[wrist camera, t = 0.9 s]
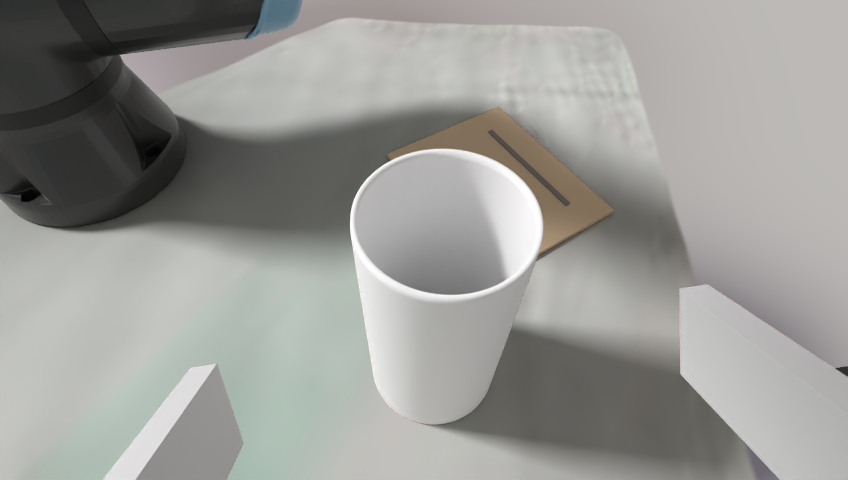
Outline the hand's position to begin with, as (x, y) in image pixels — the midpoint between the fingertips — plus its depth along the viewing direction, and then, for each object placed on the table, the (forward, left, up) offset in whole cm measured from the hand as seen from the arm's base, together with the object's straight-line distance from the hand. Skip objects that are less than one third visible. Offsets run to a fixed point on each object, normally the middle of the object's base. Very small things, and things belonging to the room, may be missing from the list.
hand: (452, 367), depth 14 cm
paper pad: (-17, +18, -19) cm, 31 cm away
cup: (-6, +4, -19) cm, 20 cm away
